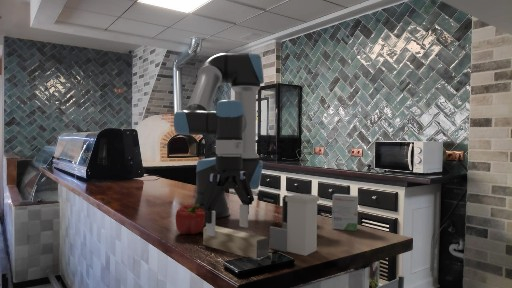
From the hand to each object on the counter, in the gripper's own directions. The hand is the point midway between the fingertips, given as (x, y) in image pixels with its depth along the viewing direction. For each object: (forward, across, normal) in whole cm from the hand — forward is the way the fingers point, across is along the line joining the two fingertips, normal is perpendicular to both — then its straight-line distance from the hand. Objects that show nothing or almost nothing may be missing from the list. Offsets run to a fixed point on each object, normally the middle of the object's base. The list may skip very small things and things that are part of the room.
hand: (227, 230), depth 102 cm
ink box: (+5, +44, -15) cm, 47 cm away
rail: (+5, 0, -2) cm, 5 cm away
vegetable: (+5, +4, +20) cm, 21 cm away
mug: (+5, +41, +3) cm, 42 cm away
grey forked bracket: (+5, +12, -14) cm, 19 cm away
